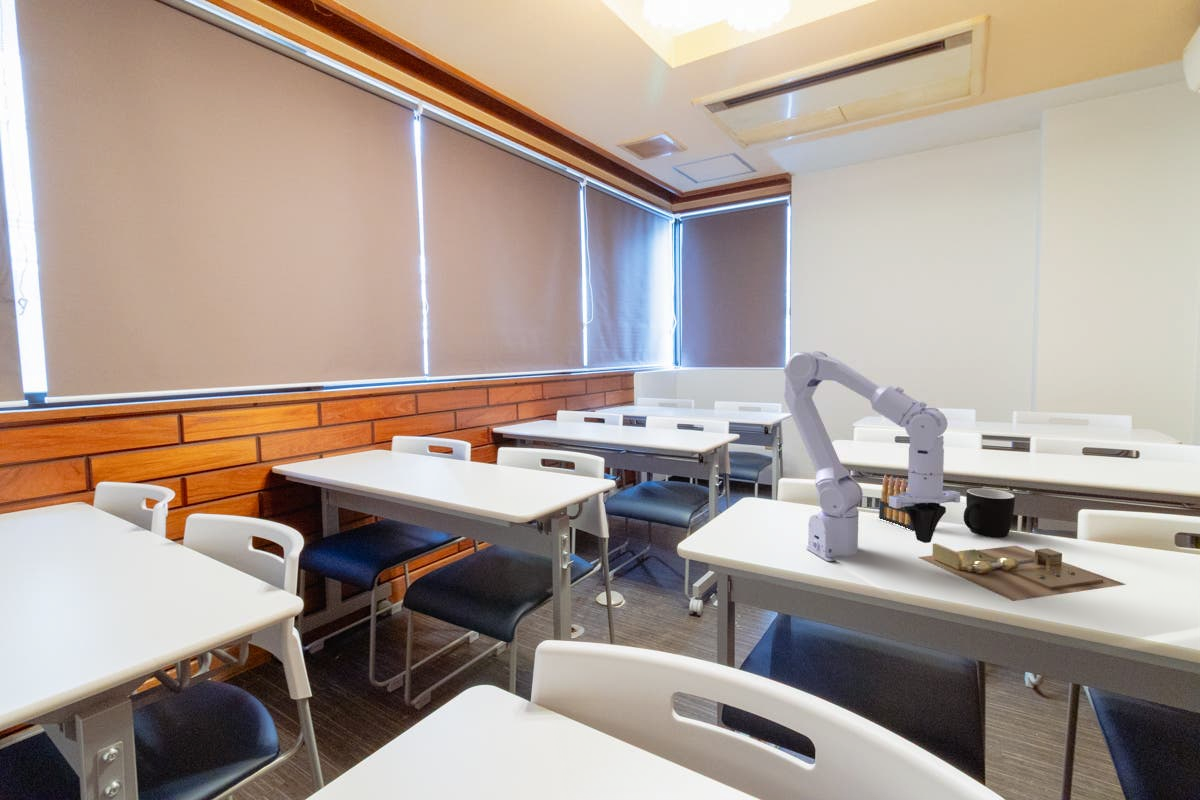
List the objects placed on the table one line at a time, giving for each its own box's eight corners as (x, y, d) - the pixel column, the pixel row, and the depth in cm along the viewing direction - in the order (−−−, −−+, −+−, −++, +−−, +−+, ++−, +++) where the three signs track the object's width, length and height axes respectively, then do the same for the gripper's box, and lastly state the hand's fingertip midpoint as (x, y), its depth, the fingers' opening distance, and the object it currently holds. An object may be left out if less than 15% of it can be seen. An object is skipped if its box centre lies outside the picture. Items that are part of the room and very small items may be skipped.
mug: (983, 527, 128) (985, 486, 127) (1022, 539, 120) (1024, 496, 119) (945, 533, 125) (947, 491, 124) (983, 546, 116) (985, 501, 115)
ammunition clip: (921, 531, 127) (923, 482, 126) (915, 532, 126) (917, 483, 125) (884, 518, 137) (885, 473, 136) (878, 519, 136) (879, 473, 135)
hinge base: (1046, 561, 105) (1047, 548, 105) (1103, 582, 96) (1104, 567, 95) (997, 568, 103) (997, 554, 102) (1050, 590, 93) (1051, 574, 93)
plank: (1012, 605, 90) (1013, 600, 89) (917, 560, 109) (918, 557, 109) (1125, 588, 95) (1125, 584, 95) (1015, 549, 114) (1016, 545, 114)
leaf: (989, 550, 111) (990, 536, 111) (1037, 568, 102) (1038, 553, 101) (930, 557, 108) (931, 543, 108) (973, 576, 98) (974, 560, 98)
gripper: (909, 479, 96) (908, 552, 97) (975, 473, 99) (973, 544, 100) (881, 471, 103) (879, 539, 104) (943, 466, 106) (941, 532, 107)
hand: (923, 541), depth 103 cm, fingers closed
